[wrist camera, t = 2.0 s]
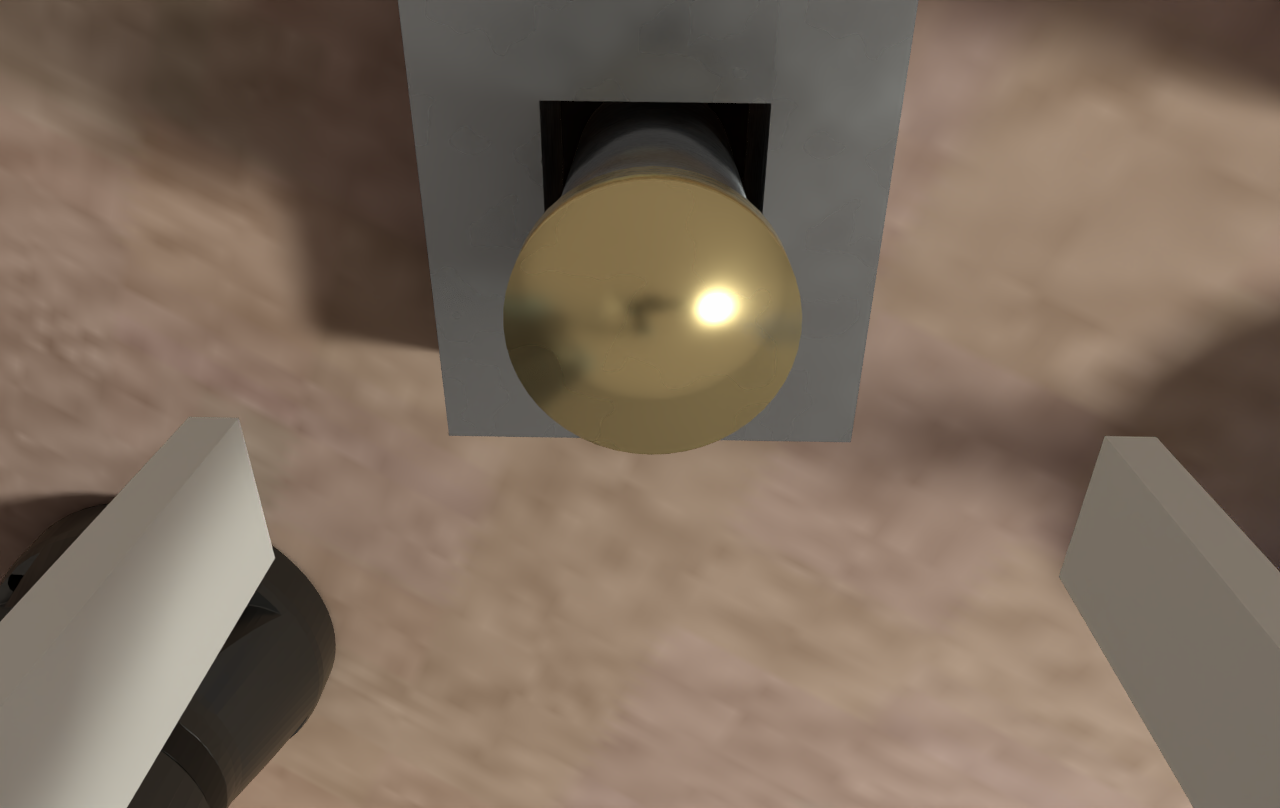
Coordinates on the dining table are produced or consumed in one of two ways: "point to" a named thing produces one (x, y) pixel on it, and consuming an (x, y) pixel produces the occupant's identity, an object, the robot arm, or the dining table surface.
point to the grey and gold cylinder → (652, 288)
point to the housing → (656, 72)
